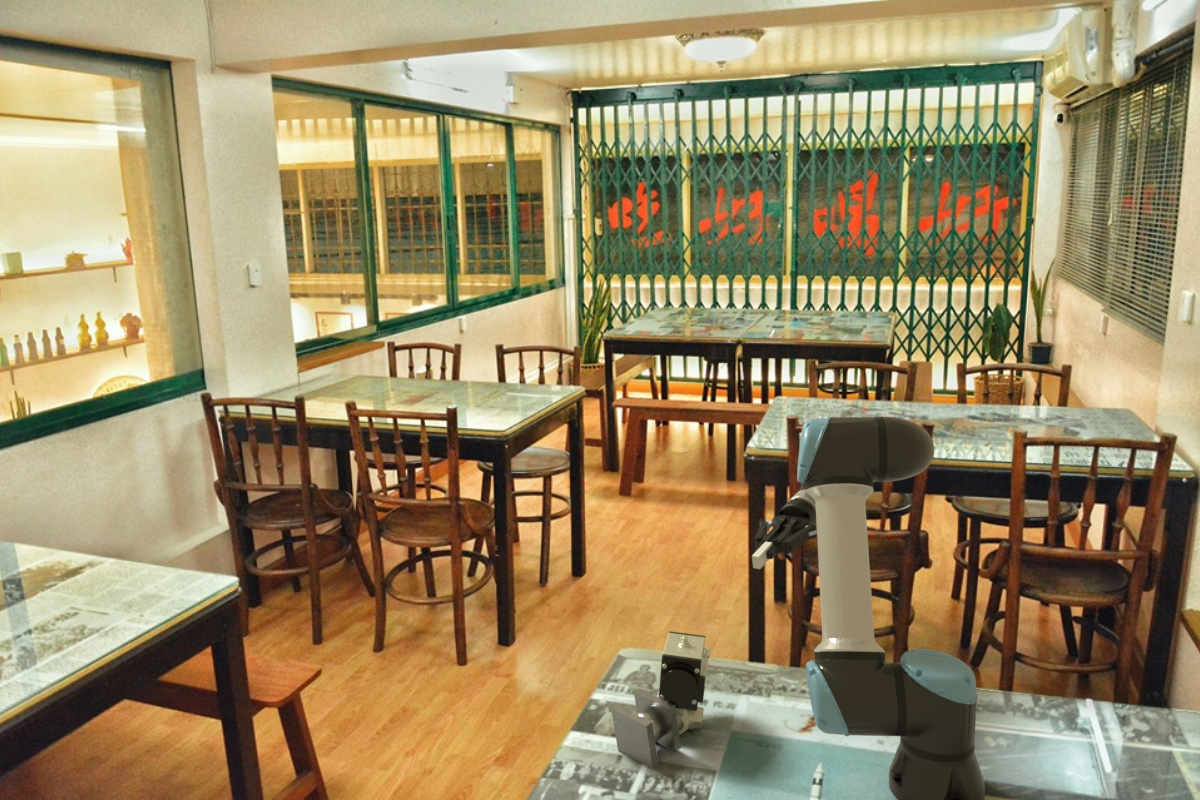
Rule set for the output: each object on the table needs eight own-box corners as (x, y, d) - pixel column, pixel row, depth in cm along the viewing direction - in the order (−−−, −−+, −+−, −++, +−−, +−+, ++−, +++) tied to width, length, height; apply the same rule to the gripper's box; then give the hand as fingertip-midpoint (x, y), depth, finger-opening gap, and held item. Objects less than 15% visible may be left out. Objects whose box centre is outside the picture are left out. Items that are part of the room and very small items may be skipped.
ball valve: (700, 751, 168) (708, 657, 167) (653, 744, 170) (661, 650, 168) (705, 710, 186) (713, 624, 184) (663, 704, 187) (670, 619, 186)
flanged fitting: (680, 747, 170) (674, 705, 168) (652, 769, 165) (646, 726, 163) (645, 729, 177) (639, 688, 174) (618, 750, 172) (611, 708, 169)
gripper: (831, 532, 199) (788, 584, 180) (775, 525, 206) (728, 574, 188) (828, 500, 197) (785, 549, 178) (771, 494, 204) (724, 541, 186)
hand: (756, 562), depth 183 cm, fingers closed
